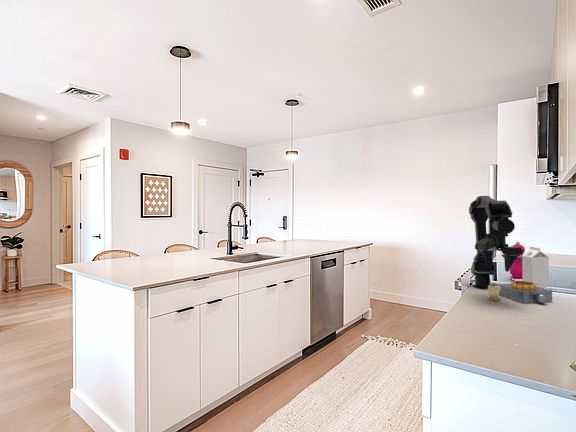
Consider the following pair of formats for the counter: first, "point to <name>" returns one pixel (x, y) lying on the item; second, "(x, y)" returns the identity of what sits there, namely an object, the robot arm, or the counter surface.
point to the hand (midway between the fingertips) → (497, 269)
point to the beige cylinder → (494, 292)
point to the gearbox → (526, 292)
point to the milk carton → (536, 267)
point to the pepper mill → (517, 264)
